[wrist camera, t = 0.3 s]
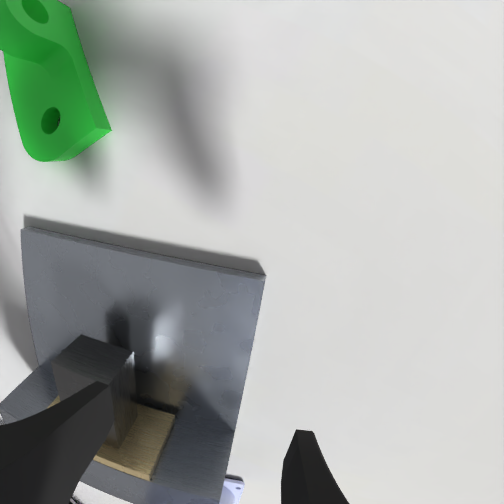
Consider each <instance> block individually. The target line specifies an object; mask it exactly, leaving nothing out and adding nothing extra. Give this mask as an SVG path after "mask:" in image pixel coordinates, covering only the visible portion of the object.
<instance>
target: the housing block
mask: <svg viewBox="0 0 504 504" xmlns="http://www.w3.org/2000/svg"><path fill="white" fill-rule="evenodd" d="M21 249H22V264H23V275H24V284H25V293H26V301H27V308H28V314H29V320H30V326H31V331H32V337H33V342H34V346H35V351H36V355H37V360H38V364H39V367H38V368H37V369H36V370H34V371H33V372H32V373H31V374H30V375H29V376H28V377H27V378H26V379H25V380H24V381H23V382H22V383H21V384H20V385H19V386H17V387H16V388H15V389H14V390H13V391H12V392H11V393H10V394H9V395H8V396H7V397H6V398H5V399H4V400H3V401H2V402H1V403H0V414H1V416H2V418H3V420H4V423H5V424H9V423H12V422H16V421H19V420H22V419H24V418H27V417H30V416H32V415H35V414H37V413H39V412H41V411H43V410H45V409H47V408H48V407H49V405H50V404H51V403H52V402H53V401H54V400H55V399H56V398H57V396H58V395H59V394H58V390H57V386H56V382H55V378H54V374H53V370H52V365H51V361H52V360H53V359H55V358H56V357H57V356H58V355H59V354H60V353H61V352H62V351H63V350H64V349H65V348H66V347H67V346H69V345H70V344H71V343H72V342H73V341H74V340H75V339H76V338H77V337H78V336H80V335H81V334H83V335H85V336H88V337H91V338H94V339H97V340H100V341H103V342H106V343H109V344H112V345H115V346H118V347H121V348H124V349H127V350H131V351H134V368H135V386H136V399H137V404H140V405H143V406H146V407H149V408H153V409H156V410H159V411H163V412H166V413H170V414H173V415H175V423H174V425H173V428H172V430H171V432H170V435H169V437H168V439H167V442H166V444H165V446H164V449H163V451H162V453H161V456H160V458H159V460H158V463H157V465H156V468H155V470H154V472H153V475H152V477H151V479H150V481H148V480H145V479H142V478H139V477H136V476H133V475H130V474H128V473H125V472H122V471H120V470H117V469H114V468H112V467H109V466H107V465H105V464H102V463H100V462H98V461H95V460H92V461H91V463H90V464H89V466H88V468H87V469H86V471H85V472H84V474H83V475H82V477H81V479H80V480H79V481H81V482H83V483H85V484H87V485H89V486H91V487H94V488H96V489H98V490H100V491H103V492H105V493H108V494H110V495H112V496H115V497H117V498H120V499H123V500H125V501H128V502H131V503H133V504H219V502H220V498H221V493H222V489H223V484H224V480H225V475H226V470H227V466H228V461H229V456H230V451H231V447H232V442H233V437H234V432H235V428H236V423H237V418H238V414H239V409H240V404H241V399H242V394H243V390H244V385H245V380H246V375H247V370H248V365H249V360H250V355H251V350H252V345H253V340H254V335H255V330H256V325H257V320H258V315H259V310H260V305H261V299H262V294H263V289H264V284H265V278H266V275H262V274H257V273H251V272H246V271H241V270H235V269H230V268H225V267H220V266H215V265H210V264H204V263H199V262H194V261H189V260H184V259H179V258H174V257H169V256H164V255H159V254H154V253H150V252H145V251H140V250H135V249H130V248H125V247H121V246H116V245H111V244H107V243H102V242H97V241H92V240H88V239H83V238H79V237H74V236H70V235H65V234H60V233H56V232H51V231H47V230H43V229H38V228H34V227H26V228H23V229H21Z"/></svg>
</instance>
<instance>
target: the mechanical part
mask: <svg viewBox="0 0 504 504" xmlns="http://www.w3.org/2000/svg"><path fill="white" fill-rule="evenodd" d="M0 50H2V51H3V53H4V60H5V67H6V73H7V79H8V84H9V89H10V94H11V99H12V104H13V108H14V113H15V117H16V121H17V125H18V129H19V132H20V136H21V140H22V143H23V146H24V148H25V150H26V151H27V153H28V154H29V155H30V156H31V157H32V158H33V159H35V160H38V161H41V162H49V161H65V160H69V159H71V158H73V157H75V156H77V155H78V154H80V153H81V152H82V151H84V150H85V149H86V148H88V147H89V146H90V145H92V144H93V143H95V142H96V141H97V140H99V139H100V138H102V137H103V136H104V135H106V134H107V133H109V132H110V131H112V130H111V127H110V124H109V122H108V119H107V117H106V114H105V112H104V109H103V106H102V104H101V101H100V98H99V95H98V93H97V90H96V87H95V84H94V82H93V79H92V76H91V73H90V70H89V67H88V64H87V61H86V58H85V55H84V52H83V49H82V46H81V43H80V40H79V36H78V33H77V30H76V27H75V23H74V20H73V16H72V13H71V9H70V7H68V6H66V5H64V4H63V3H61V2H59V1H57V0H0ZM59 117H60V123H59V126H58V120H59Z"/></svg>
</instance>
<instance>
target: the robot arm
mask: <svg viewBox="0 0 504 504" xmlns="http://www.w3.org/2000/svg"><path fill="white" fill-rule="evenodd" d="M114 420H115V418H114V412H113V406H112V399H111V392H110V385H107V384H104V383H101V382H99V381H95V382H94V383H92V384H90V385H88V386H87V387H85V388H83V389H82V390H80V391H78V392H76V393H75V394H73V395H71V396H70V397H68V398H66V399H64V400H62V401H61V402H59V403H57V404H55V405H53V406H51V407H49V408H47V409H45V410H43V411H41V412H39V413H37V414H35V415H32V416H30V417H27V418H24V419H22V420H19V421H16V422H12V423H9V424H5V425H1V426H0V504H69V502H70V499H71V497H72V495H73V493H74V491H75V488H76V486H77V484H78V482H79V480H80V479H81V477H82V475H83V474H84V472H85V471H86V469H87V468H88V466H89V464H90V463H91V461H92V460H93V458H94V457H95V455H96V454H97V452H98V451H99V449H100V448H101V446H102V444H103V443H104V441H105V440H106V438H107V436H108V434H109V431H110V429H111V427H112V425H113V423H114ZM244 485H245V484H244V482H242V481H238V480H232V479H227V478H225V480H224V484H223V489H222V493H221V498H220V502H219V504H238V503H239V500H240V497H241V495H242V492H243V489H244ZM281 504H349V502H348V501H347V499H346V498H345V496H344V495H343V493H342V492H341V490H340V488H339V487H338V485H337V483H336V481H335V479H334V478H333V476H332V474H331V472H330V470H329V468H328V466H327V464H326V462H325V459H324V457H323V455H322V452H321V450H320V448H319V445H318V443H317V440H316V437H315V434H314V433H313V431H305V430H296V431H295V434H294V436H293V439H292V441H291V444H290V446H289V449H288V451H287V453H286V456H285V458H284V461H283V470H282V479H281Z"/></svg>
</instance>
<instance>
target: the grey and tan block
mask: <svg viewBox="0 0 504 504" xmlns="http://www.w3.org/2000/svg"><path fill="white" fill-rule="evenodd" d="M51 365H52V370H53V374H54V378H55V382H56V386H57V390H58V394H59V395H58V396H57V398H56V399H55V400H54V401H53V402H52V403H51V404H50V405H49V407H51V406H53V405H55V404H57V403H59V402H61V401H62V400H64V399H66V398H68V397H70V396H71V395H73V394H75V393H76V392H78V391H80V390H82V389H83V388H85V387H87V386H88V385H90V384H92V383H94V382H95V381H99V382H101V383H104V384H107V385H110V392H111V399H112V406H113V412H114V418H115V420H114V423H113V425H112V427H111V429H110V431H109V434H108V436H107V438H106V440H105V441H104V443H103V444H102V446H101V448H100V449H99V451H98V452H97V454H96V455H95V457H94V458H93V460H95V461H98V462H100V463H102V464H105V465H107V466H109V467H112V468H114V469H117V470H120V471H122V472H125V473H128V474H130V475H133V476H136V477H139V478H142V479H145V480H148V481H150V479H151V477H152V475H153V472H154V470H155V468H156V465H157V463H158V460H159V458H160V456H161V453H162V451H163V449H164V446H165V444H166V442H167V439H168V437H169V435H170V432H171V430H172V428H173V425H174V423H175V415H173V414H170V413H166V412H163V411H159V410H156V409H153V408H149V407H146V406H143V405H140V404H137V399H136V386H135V368H134V351H131V350H127V349H124V348H121V347H118V346H115V345H112V344H109V343H106V342H103V341H100V340H97V339H94V338H91V337H88V336H85V335H83V334H81V335H80V336H78V337H77V338H76V339H75V340H74V341H73V342H72V343H71V344H70V345H69V346H67V347H66V348H65V349H64V350H63V351H62V352H61V353H60V354H59V355H58V356H57V357H56V358H55V359H53V360H52V361H51ZM49 407H48V408H49Z"/></svg>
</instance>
